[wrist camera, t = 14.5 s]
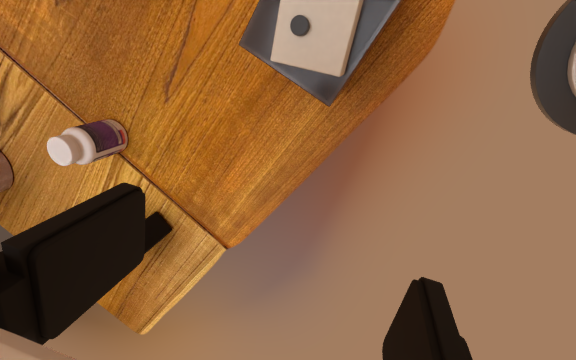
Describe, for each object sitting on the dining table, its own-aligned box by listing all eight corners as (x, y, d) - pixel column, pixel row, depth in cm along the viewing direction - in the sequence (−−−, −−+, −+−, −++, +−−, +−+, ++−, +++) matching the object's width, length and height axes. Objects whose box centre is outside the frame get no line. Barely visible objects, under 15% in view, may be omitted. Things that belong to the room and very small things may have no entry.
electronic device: (126, 235, 56) (80, 268, 47) (158, 209, 52) (114, 240, 43) (141, 252, 57) (99, 288, 48) (174, 228, 53) (134, 262, 44)
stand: (345, -61, 33) (329, -148, 19) (413, -14, 33) (446, -67, 19) (284, 50, 38) (238, 44, 25) (343, 91, 38) (329, 107, 25)
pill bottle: (103, 112, 48) (44, 123, 39) (132, 130, 48) (79, 145, 39) (97, 140, 50) (39, 157, 42) (124, 157, 50) (72, 178, 41)
